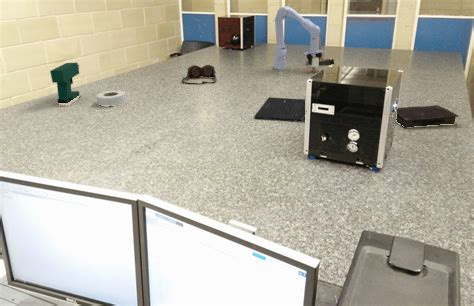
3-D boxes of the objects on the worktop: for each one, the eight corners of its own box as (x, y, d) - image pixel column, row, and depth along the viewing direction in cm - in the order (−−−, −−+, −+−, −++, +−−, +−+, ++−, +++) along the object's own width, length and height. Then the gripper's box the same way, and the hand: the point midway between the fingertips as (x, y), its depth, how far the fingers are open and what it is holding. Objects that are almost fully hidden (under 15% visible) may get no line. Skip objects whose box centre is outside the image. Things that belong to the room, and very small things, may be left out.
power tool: (78, 91, 255) (72, 59, 247) (89, 91, 255) (83, 59, 247) (56, 106, 226) (48, 71, 218) (68, 106, 226) (61, 70, 218)
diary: (386, 116, 195) (388, 106, 193) (435, 113, 197) (437, 104, 195) (404, 130, 178) (406, 119, 176) (458, 126, 180) (460, 116, 178)
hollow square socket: (308, 65, 280) (308, 57, 278) (314, 65, 282) (314, 56, 279) (312, 67, 276) (312, 58, 273) (318, 66, 277) (318, 57, 275)
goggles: (183, 86, 258) (183, 70, 254) (178, 79, 279) (177, 64, 275) (220, 84, 264) (220, 68, 260) (212, 76, 285) (212, 62, 281)
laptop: (268, 100, 226) (268, 66, 218) (336, 104, 215) (339, 68, 207) (253, 119, 197) (252, 80, 189) (331, 125, 186) (334, 84, 178)
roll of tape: (99, 109, 219) (97, 99, 217) (96, 101, 233) (95, 92, 230) (128, 105, 225) (127, 95, 223) (124, 98, 238) (122, 88, 236)
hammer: (307, 69, 301) (301, 29, 290) (307, 68, 306) (301, 28, 295) (334, 65, 296) (329, 23, 285) (334, 63, 301) (329, 22, 290)
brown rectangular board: (295, 70, 290) (295, 64, 289) (309, 68, 295) (309, 62, 293) (308, 75, 275) (309, 69, 273) (323, 73, 279) (324, 67, 278)
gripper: (308, 46, 267) (307, 66, 272) (326, 44, 272) (325, 64, 277) (303, 45, 273) (302, 64, 278) (320, 43, 278) (319, 62, 283)
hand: (313, 64), depth 278 cm, fingers closed on hollow square socket, 5 cm apart
